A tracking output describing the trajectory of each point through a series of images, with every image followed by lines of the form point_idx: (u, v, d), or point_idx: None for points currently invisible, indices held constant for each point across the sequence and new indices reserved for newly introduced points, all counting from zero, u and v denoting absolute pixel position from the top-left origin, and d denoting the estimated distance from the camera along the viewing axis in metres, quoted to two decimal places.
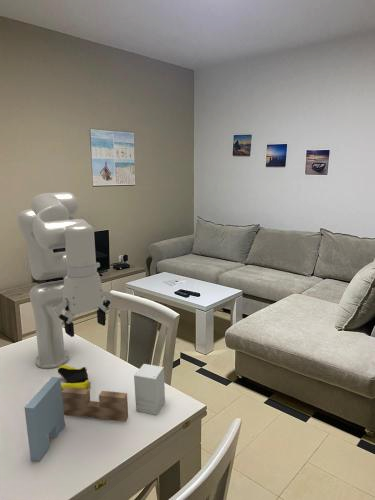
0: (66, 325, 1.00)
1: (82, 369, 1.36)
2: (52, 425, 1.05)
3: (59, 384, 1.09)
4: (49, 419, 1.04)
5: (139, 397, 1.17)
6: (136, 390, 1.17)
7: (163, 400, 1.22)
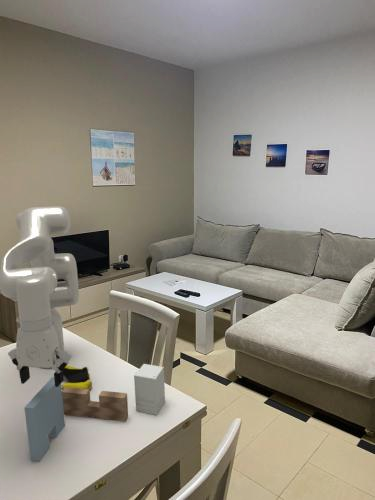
0: (62, 372, 1.00)
1: (84, 369, 1.36)
2: (52, 425, 1.05)
3: None
4: (49, 419, 1.04)
5: (139, 397, 1.17)
6: (136, 390, 1.17)
7: (163, 400, 1.22)
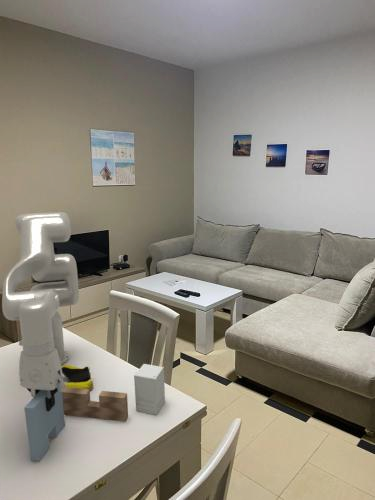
0: (53, 397, 1.03)
1: (85, 369, 1.36)
2: (52, 425, 1.05)
3: None
4: (49, 420, 1.04)
5: (139, 397, 1.17)
6: (136, 390, 1.17)
7: (163, 400, 1.22)
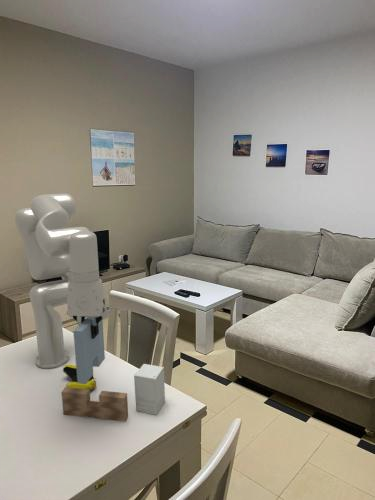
0: (97, 326, 1.10)
1: None
2: (95, 354, 1.12)
3: None
4: (93, 347, 1.11)
5: (139, 397, 1.17)
6: (136, 390, 1.17)
7: (163, 400, 1.22)
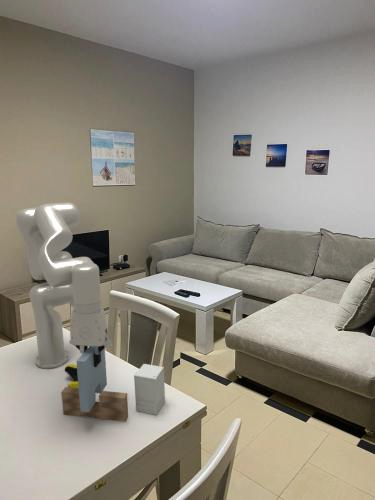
0: (100, 354, 1.12)
1: None
2: (98, 381, 1.15)
3: None
4: (96, 375, 1.13)
5: (139, 397, 1.17)
6: (136, 390, 1.17)
7: (163, 400, 1.22)
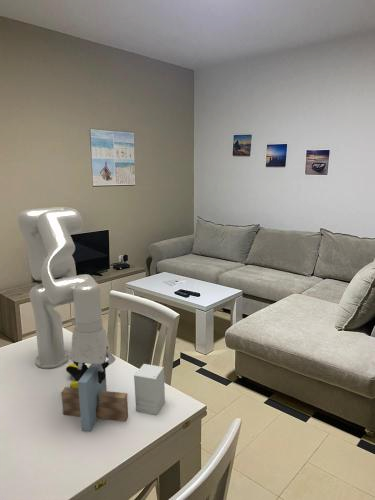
0: (104, 371, 1.13)
1: None
2: (98, 400, 1.16)
3: None
4: (96, 395, 1.15)
5: (139, 397, 1.17)
6: (136, 390, 1.17)
7: (163, 400, 1.22)
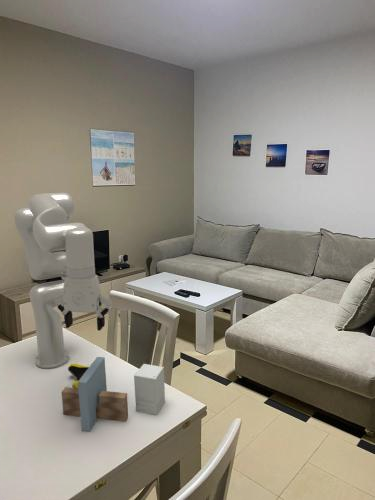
0: (103, 318, 1.10)
1: None
2: (98, 400, 1.16)
3: (103, 363, 1.19)
4: (96, 395, 1.15)
5: (139, 397, 1.17)
6: (136, 390, 1.17)
7: (163, 400, 1.22)
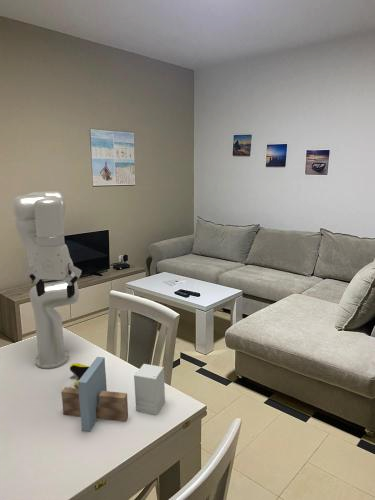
0: (73, 286, 1.15)
1: None
2: (98, 400, 1.16)
3: (103, 363, 1.19)
4: (96, 395, 1.15)
5: (139, 397, 1.17)
6: (136, 390, 1.17)
7: (163, 400, 1.22)
